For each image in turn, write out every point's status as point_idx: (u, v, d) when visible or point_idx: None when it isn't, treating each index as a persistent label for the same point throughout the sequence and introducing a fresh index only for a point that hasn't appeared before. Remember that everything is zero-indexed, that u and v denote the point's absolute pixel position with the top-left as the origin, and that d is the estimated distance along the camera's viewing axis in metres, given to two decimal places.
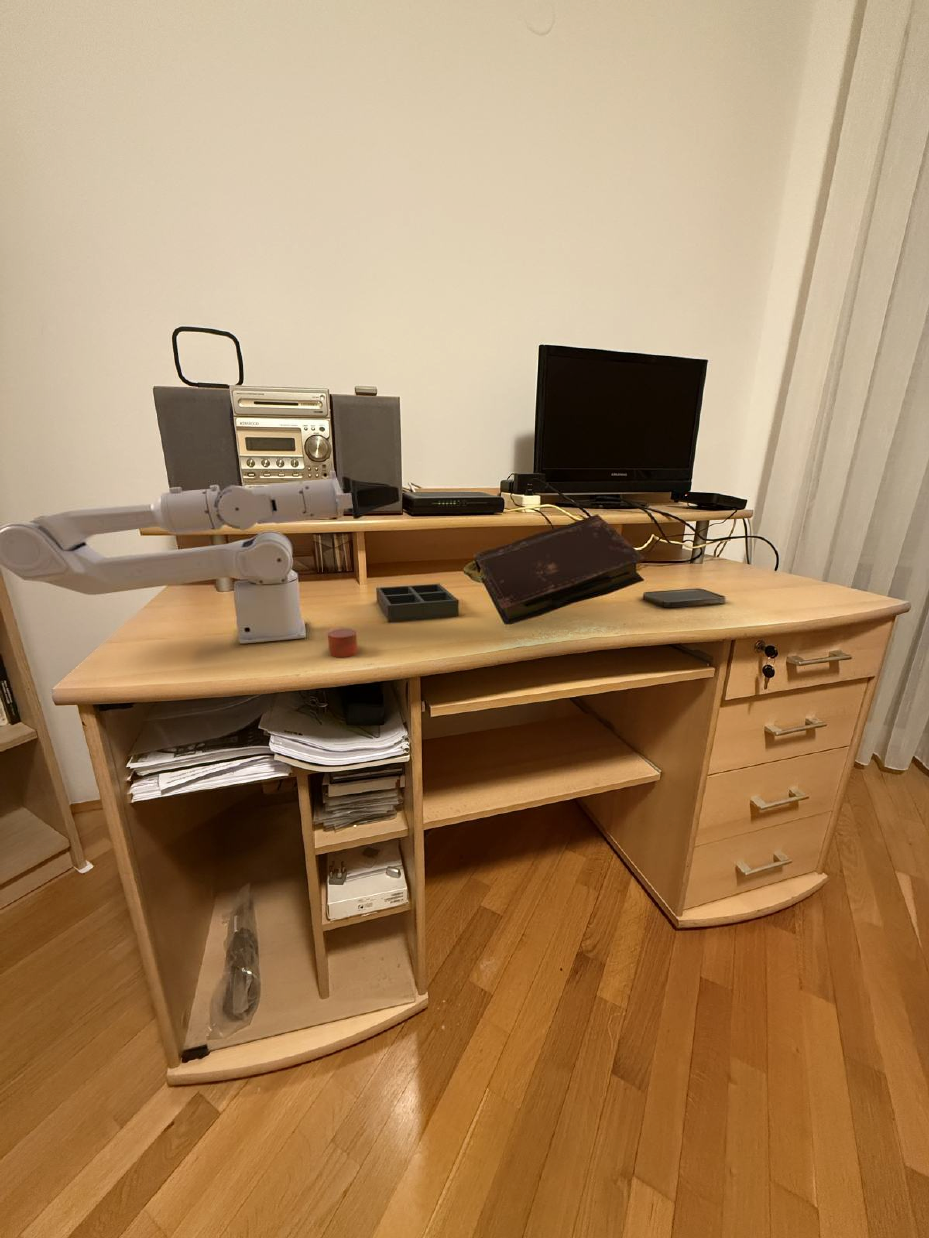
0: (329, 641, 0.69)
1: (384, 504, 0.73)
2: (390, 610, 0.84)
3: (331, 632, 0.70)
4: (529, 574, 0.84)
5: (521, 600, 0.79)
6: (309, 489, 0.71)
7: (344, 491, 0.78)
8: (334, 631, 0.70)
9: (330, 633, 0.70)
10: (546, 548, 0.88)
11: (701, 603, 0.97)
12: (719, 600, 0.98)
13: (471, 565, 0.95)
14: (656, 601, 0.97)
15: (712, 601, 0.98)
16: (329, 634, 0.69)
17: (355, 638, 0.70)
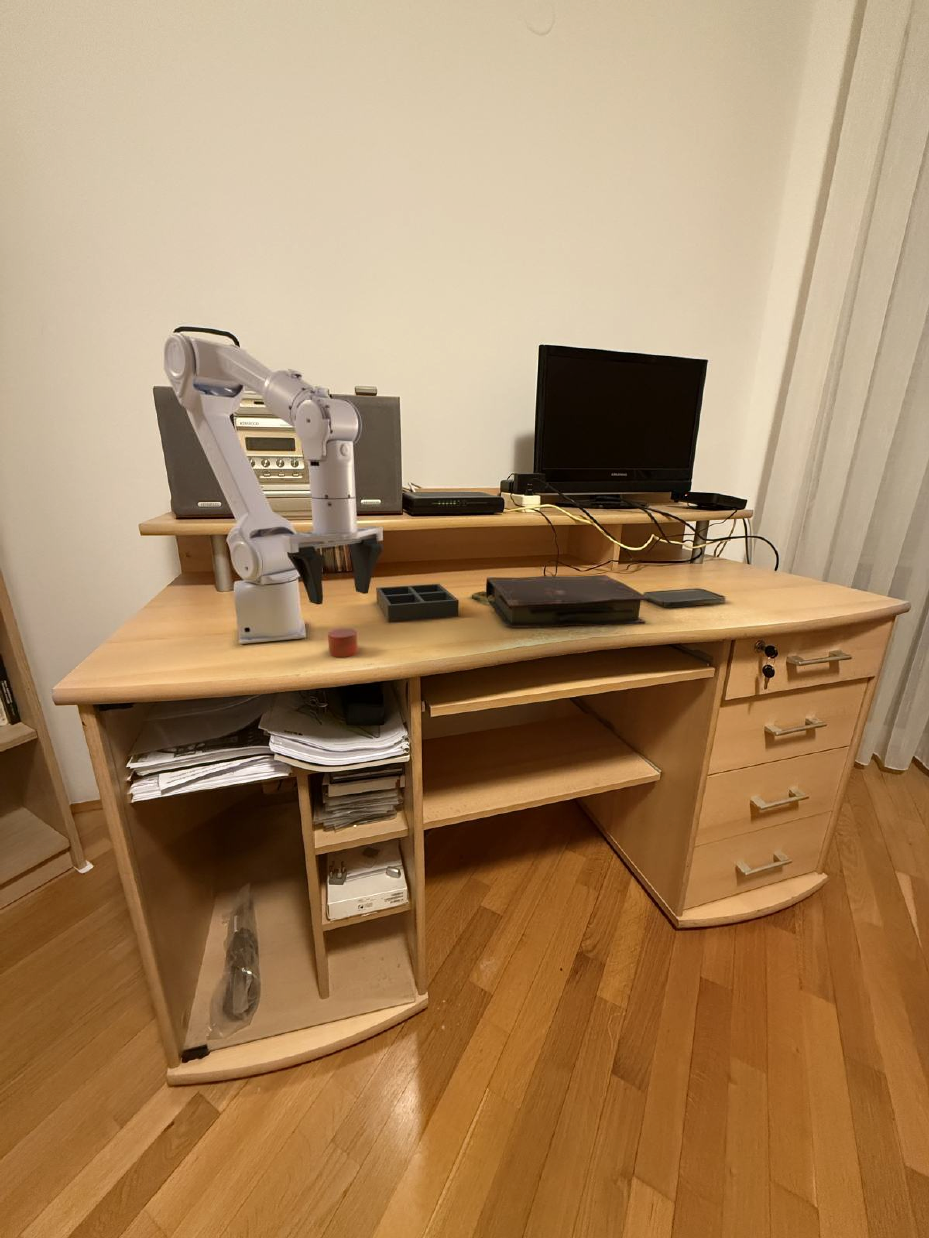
0: (329, 641, 0.69)
1: (305, 585, 0.65)
2: (390, 610, 0.84)
3: (331, 632, 0.70)
4: (538, 592, 0.87)
5: (529, 603, 0.81)
6: (326, 507, 0.62)
7: (362, 543, 0.69)
8: (334, 631, 0.70)
9: (330, 633, 0.70)
10: (556, 583, 0.93)
11: (701, 603, 0.97)
12: (719, 600, 0.98)
13: (480, 592, 0.99)
14: (656, 601, 0.97)
15: (712, 601, 0.98)
16: (329, 634, 0.69)
17: (355, 638, 0.70)
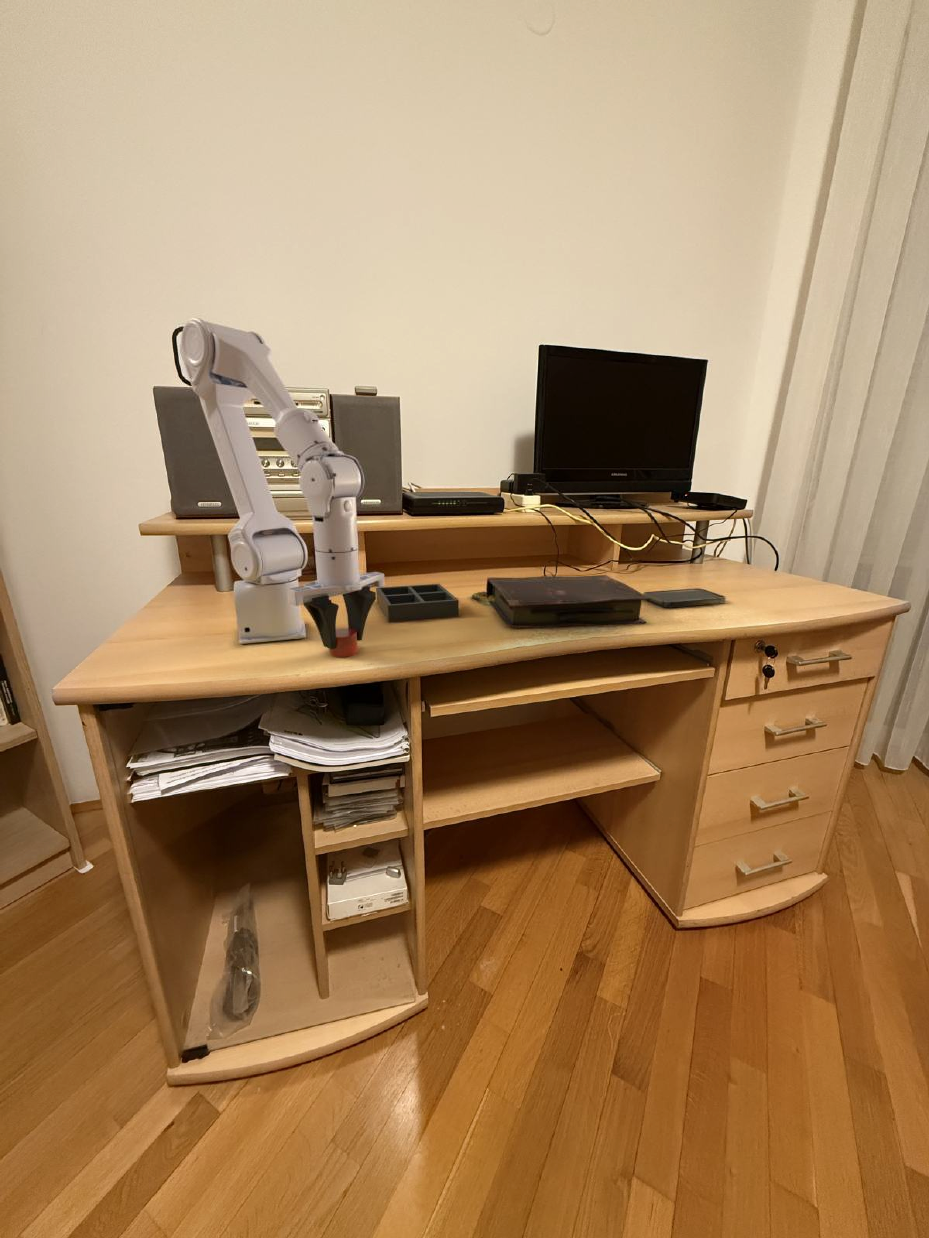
0: None
1: (319, 630, 0.68)
2: (390, 610, 0.84)
3: None
4: (539, 592, 0.87)
5: (530, 603, 0.81)
6: (330, 560, 0.64)
7: (356, 592, 0.70)
8: None
9: None
10: (557, 583, 0.93)
11: (701, 603, 0.97)
12: (719, 600, 0.98)
13: (481, 592, 0.99)
14: (656, 601, 0.97)
15: (712, 601, 0.98)
16: None
17: (355, 638, 0.70)
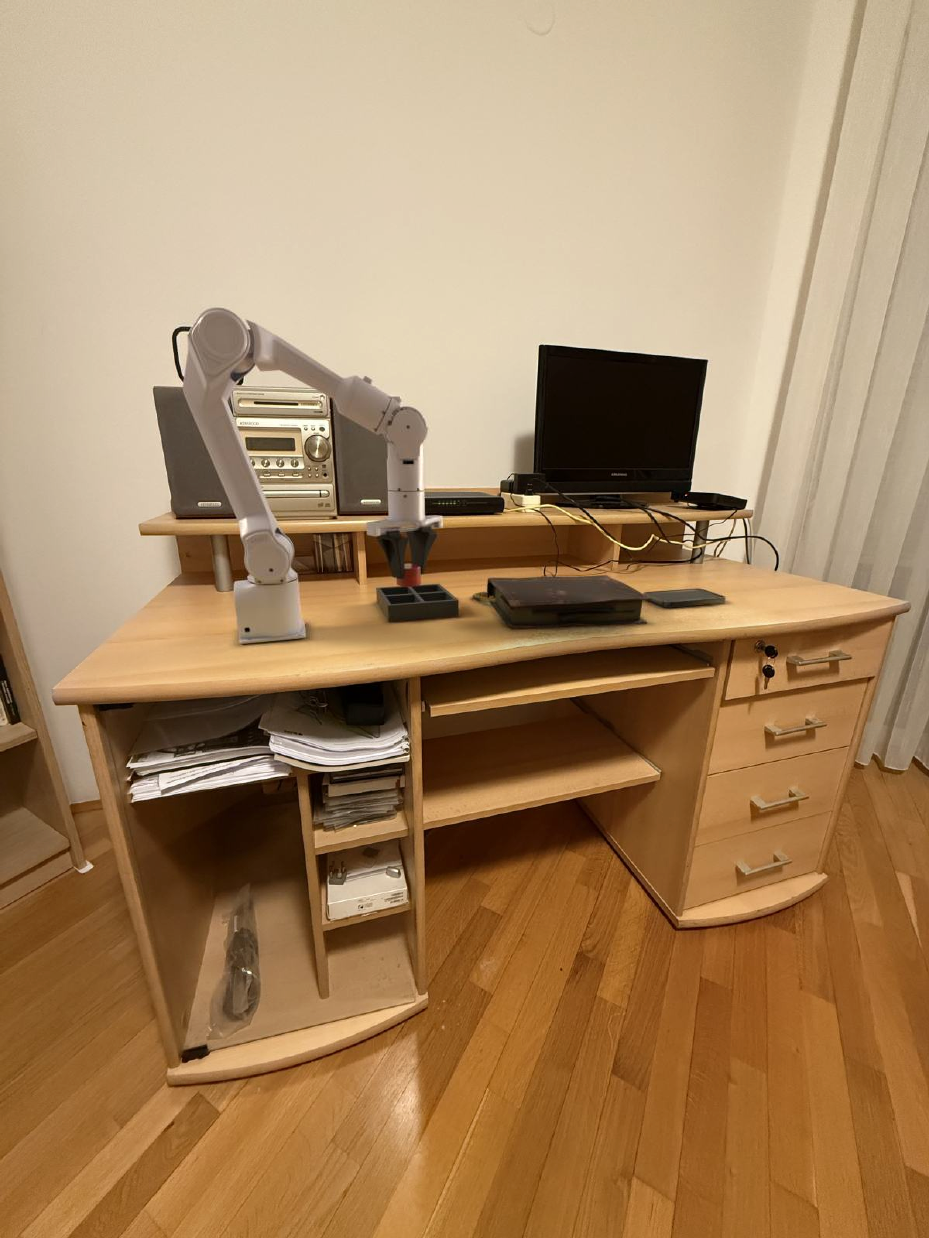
0: None
1: (389, 562, 0.79)
2: (390, 610, 0.84)
3: None
4: (540, 592, 0.87)
5: (531, 604, 0.81)
6: (402, 498, 0.74)
7: (420, 530, 0.80)
8: None
9: None
10: (558, 583, 0.93)
11: (701, 603, 0.97)
12: (719, 600, 0.98)
13: (481, 592, 0.99)
14: (656, 601, 0.97)
15: (712, 601, 0.98)
16: None
17: (420, 571, 0.80)
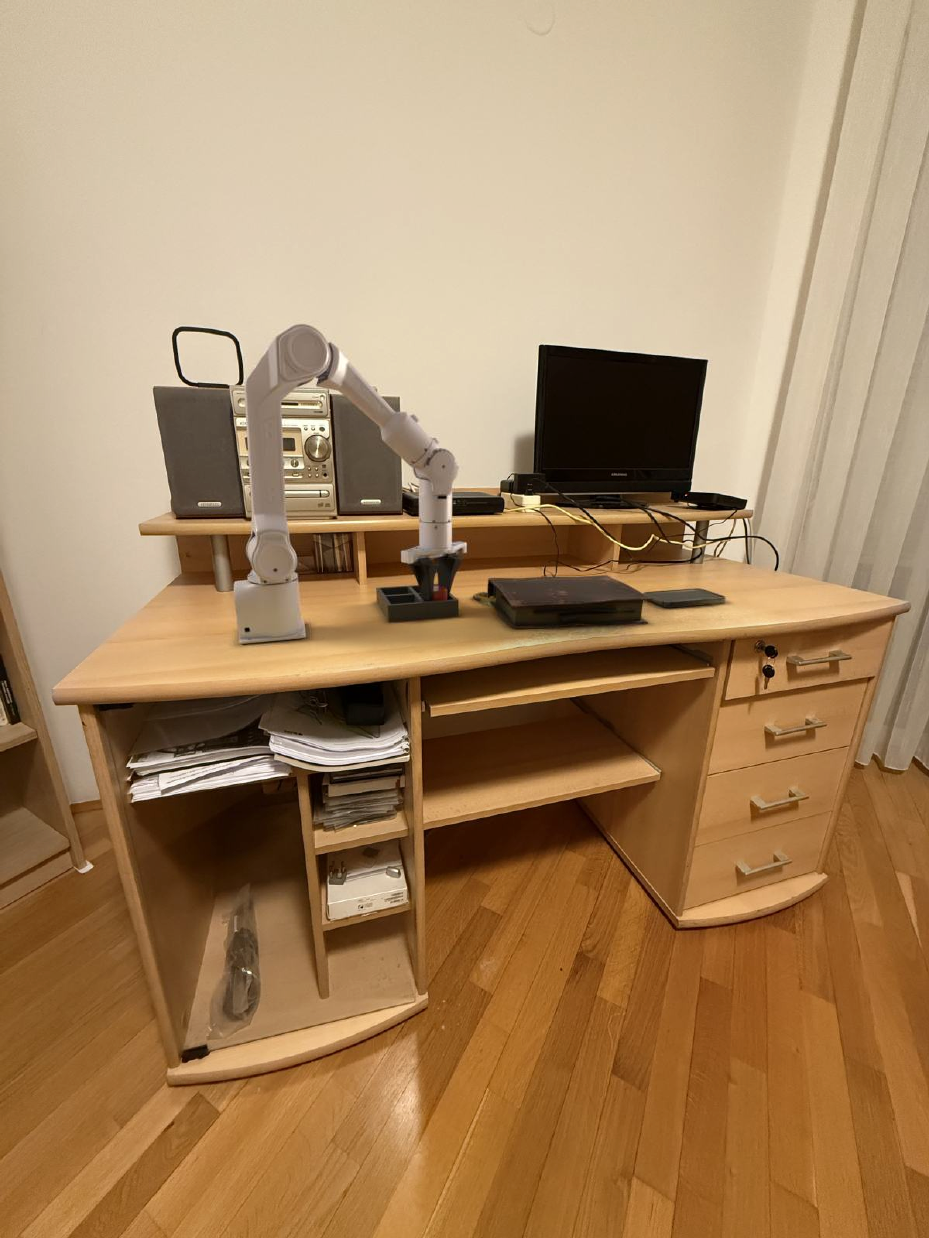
0: None
1: (419, 585, 0.87)
2: (390, 610, 0.84)
3: None
4: (541, 592, 0.87)
5: (532, 604, 0.81)
6: (433, 529, 0.82)
7: (447, 556, 0.88)
8: None
9: None
10: (558, 583, 0.93)
11: (701, 603, 0.97)
12: (719, 600, 0.98)
13: (482, 592, 0.99)
14: (656, 601, 0.97)
15: (712, 601, 0.98)
16: None
17: (446, 592, 0.88)
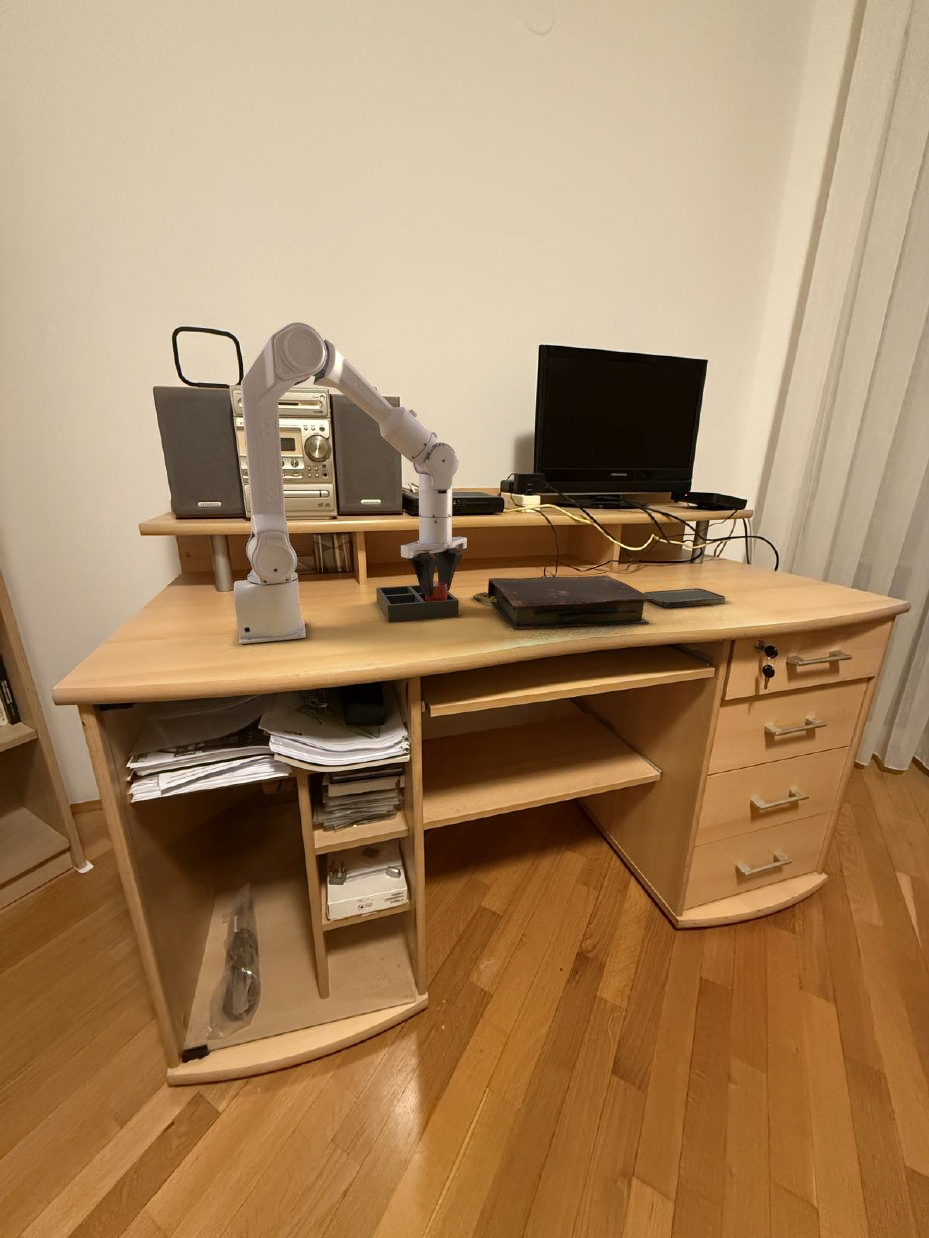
0: None
1: (419, 581, 0.87)
2: (390, 610, 0.84)
3: None
4: (542, 593, 0.87)
5: (533, 604, 0.81)
6: (433, 523, 0.82)
7: (447, 551, 0.88)
8: None
9: None
10: (559, 584, 0.93)
11: (701, 603, 0.97)
12: (719, 600, 0.98)
13: (483, 592, 0.99)
14: (656, 601, 0.97)
15: (712, 601, 0.98)
16: None
17: (446, 588, 0.88)
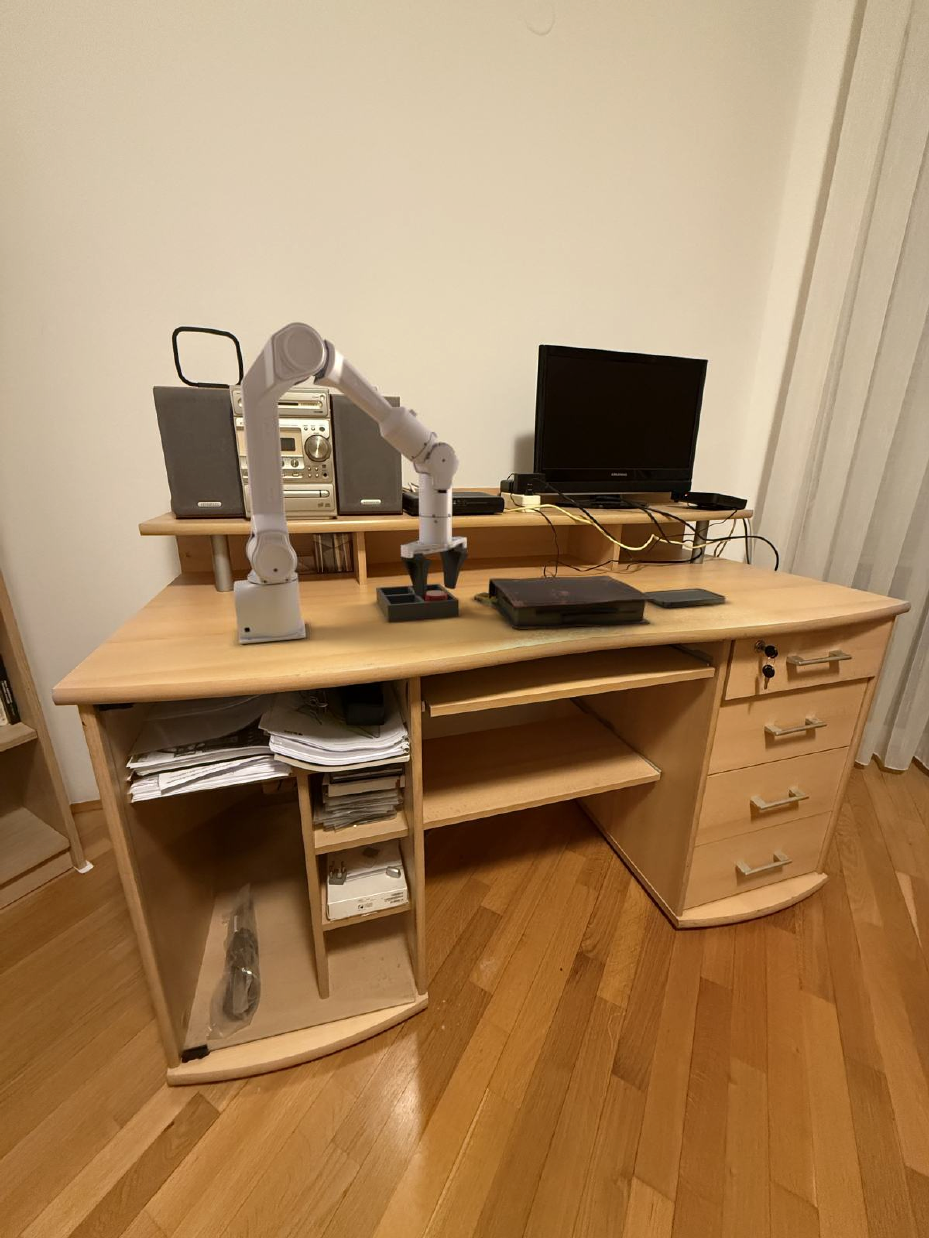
0: (426, 599, 0.88)
1: (412, 582, 0.86)
2: (390, 610, 0.84)
3: (427, 592, 0.89)
4: (543, 593, 0.86)
5: (534, 604, 0.80)
6: (433, 523, 0.82)
7: (452, 550, 0.89)
8: (429, 592, 0.89)
9: (427, 593, 0.88)
10: (560, 584, 0.92)
11: (701, 603, 0.97)
12: (719, 600, 0.98)
13: (483, 593, 0.98)
14: (656, 601, 0.97)
15: (712, 601, 0.98)
16: (426, 594, 0.88)
17: (446, 597, 0.89)
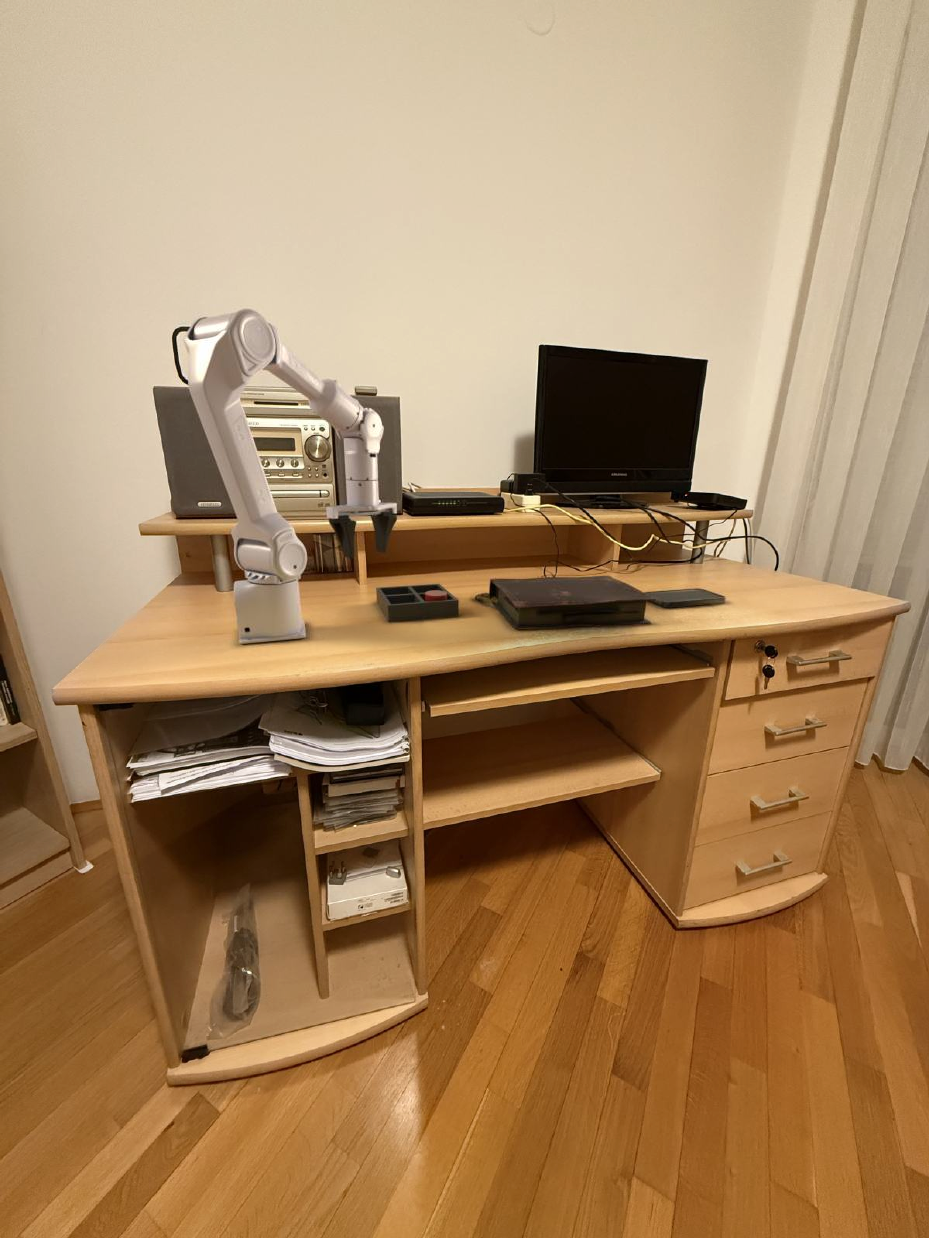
0: (426, 599, 0.88)
1: (341, 544, 0.89)
2: (390, 610, 0.84)
3: (427, 592, 0.89)
4: (544, 593, 0.86)
5: (535, 605, 0.80)
6: (358, 486, 0.86)
7: (382, 514, 0.93)
8: (429, 592, 0.89)
9: (427, 593, 0.88)
10: (561, 584, 0.92)
11: (701, 603, 0.97)
12: (719, 600, 0.98)
13: (484, 593, 0.98)
14: (656, 601, 0.97)
15: (712, 601, 0.98)
16: (426, 594, 0.88)
17: (446, 597, 0.89)
